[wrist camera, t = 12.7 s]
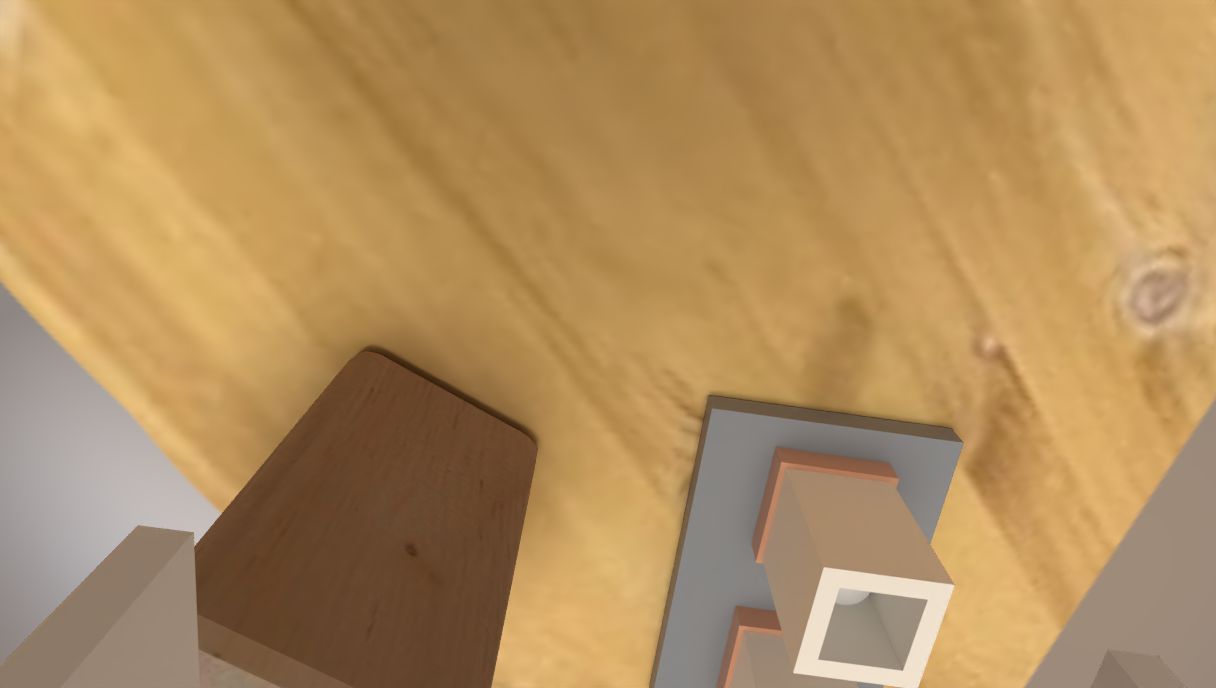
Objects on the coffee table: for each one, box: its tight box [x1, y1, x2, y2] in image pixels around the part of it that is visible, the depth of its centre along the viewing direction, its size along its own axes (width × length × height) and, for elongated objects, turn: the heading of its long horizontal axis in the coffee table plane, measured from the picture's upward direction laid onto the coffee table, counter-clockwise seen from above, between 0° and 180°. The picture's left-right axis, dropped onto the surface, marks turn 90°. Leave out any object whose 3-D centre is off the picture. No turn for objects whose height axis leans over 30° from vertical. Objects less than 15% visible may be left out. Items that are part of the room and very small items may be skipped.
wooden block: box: [194, 351, 538, 688], centre depth 32 cm, size 10×10×20 cm
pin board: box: [649, 395, 964, 688], centre depth 39 cm, size 18×12×8 cm, turn 172°
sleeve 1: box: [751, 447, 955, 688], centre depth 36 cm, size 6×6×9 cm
